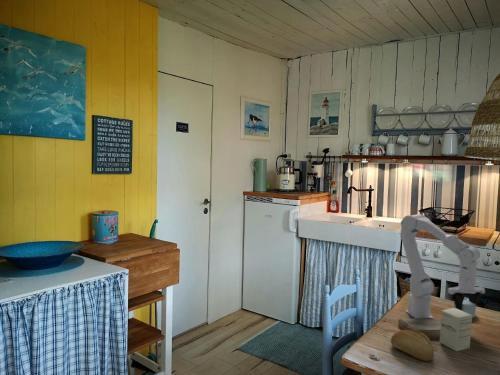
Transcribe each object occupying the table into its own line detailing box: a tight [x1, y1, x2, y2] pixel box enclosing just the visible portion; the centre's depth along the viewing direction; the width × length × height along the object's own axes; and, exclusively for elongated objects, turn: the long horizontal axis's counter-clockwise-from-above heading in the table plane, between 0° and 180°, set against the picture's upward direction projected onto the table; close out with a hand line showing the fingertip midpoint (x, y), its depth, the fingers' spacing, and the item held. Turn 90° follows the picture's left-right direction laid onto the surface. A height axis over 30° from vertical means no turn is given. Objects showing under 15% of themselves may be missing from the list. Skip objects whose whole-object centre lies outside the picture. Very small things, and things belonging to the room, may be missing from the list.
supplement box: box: [439, 307, 473, 352], centre depth 144 cm, size 7×7×13 cm
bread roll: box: [390, 328, 435, 362], centre depth 138 cm, size 10×15×8 cm, turn 41°
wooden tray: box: [397, 317, 441, 339], centre depth 156 cm, size 12×15×3 cm
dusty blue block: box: [455, 300, 477, 318], centre depth 155 cm, size 5×5×5 cm
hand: (464, 311), depth 156 cm, fingers closed on dusty blue block, 5 cm apart
